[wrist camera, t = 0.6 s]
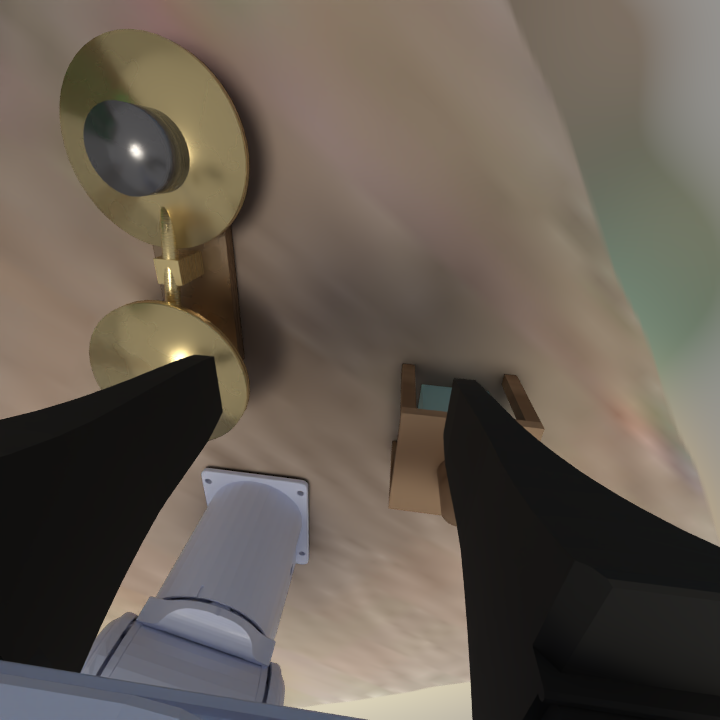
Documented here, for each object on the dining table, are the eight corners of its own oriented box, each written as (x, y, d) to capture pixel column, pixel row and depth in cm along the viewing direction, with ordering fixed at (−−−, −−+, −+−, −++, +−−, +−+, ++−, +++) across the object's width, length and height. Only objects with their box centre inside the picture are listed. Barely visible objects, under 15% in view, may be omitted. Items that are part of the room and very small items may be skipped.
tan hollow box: (490, 460, 25) (520, 566, 18) (391, 449, 25) (386, 547, 19) (516, 375, 21) (563, 466, 15) (402, 363, 22) (401, 447, 15)
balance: (278, 402, 24) (252, 450, 20) (161, 388, 25) (113, 433, 21) (258, 51, 16) (206, 12, 12) (80, 42, 16) (-30, 3, 12)
